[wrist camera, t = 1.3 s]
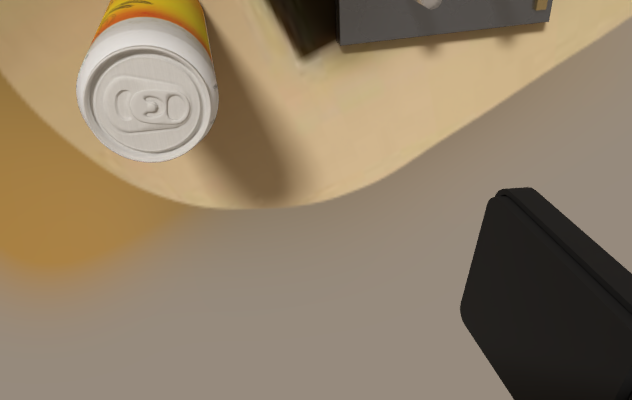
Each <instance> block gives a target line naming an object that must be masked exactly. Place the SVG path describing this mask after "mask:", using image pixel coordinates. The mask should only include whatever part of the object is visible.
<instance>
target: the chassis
mask: <svg viewBox="0 0 632 400" xmlns="http://www.w3.org/2000/svg"><path fill="white" fill-rule="evenodd" d="M552 1H553V0H335V13H336V41H337V42H338V43H339V44H340V46H341V45H349V44H358V43H367V42H375V41H384V40H393V39H401V38H410V37H419V36H428V35H436V34H445V33H454V32H462V31H471V30H480V29H488V28H497V27H506V26H514V25H523V24H532V23H540V22H549V17H550V12H551V6H552Z"/></svg>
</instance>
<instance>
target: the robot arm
mask: <svg viewBox="0 0 632 400" xmlns="http://www.w3.org/2000/svg"><path fill="white" fill-rule="evenodd" d="M460 312H461V317H462V320H463V322H464V324H465V326H466V327H467V329H468V330H469V332H470V333H471V335H472V336H473V338H474V339H475V341H476V342H477V344H478V345H479V347H480V348H481V350H482V352H483V353H484V355H485V356H486V358H487V359H488V360H489V362H490V364H491V365H492V367H493V368H494V370H495V371H496V373H497V374H498V376H499V377H500V379H501V380H502V382H503V383H504V385H505V386H506V388H507V389H508V391H509V393H510V394H511V396H512V397H513V399H514V400H632V274H631V273H630V272H629V271H628V270H627V269H626V268H624V267H623V266H622V265H621V264H620V263H619V262H617V261H616V260H615V259H614V258H613V257H612V256H610V255H609V254H608V253H607V252H606V251H605V250H603V248H601V247H600V246H599V245H598V244H597V243H595V242H594V241H593V240H592V239H591V238H590V237H589V236H588V235H586V234H585V233H584V232H583V231H581V229H580V228H578V227H577V226H576V225H575V224H574V223H573V222H571V221H570V220H569V219H568V218H567V217H566V216H565V215H563V214H562V213H561V212H560V211H559V210H558V209H556V208H555V207H554V206H553V205H552V204H551V203H550V202H548V201H547V200H546V199H545V198H544V197H543V196H542V195H540V194H539V193H538V192H537V191H536V190H534V189H533V188H528V187H526V188H511V189H502V190H500V191H498V193H497V194H496V195H495V197H493V198H491V199H490V200H489V201H488V204H487V207H486V211H485V215H484V219H483V222H482V226H481V230H480V233H479V237H478V241H477V245H476V249H475V252H474V256H473V260H472V263H471V267H470V271H469V275H468V278H467V282H466V286H465V290H464V294H463V297H462V301H461V306H460Z"/></svg>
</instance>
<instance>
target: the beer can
mask: <svg viewBox="0 0 632 400" xmlns="http://www.w3.org/2000/svg"><path fill="white" fill-rule="evenodd" d="M76 94H77V101H78V105H79V109H80V112H81V114H82V116H83V118H84V120H85V122H86V123H87V125H88V126H89V128H90V129H91V130H92V132H93V133H94V135H95V136H96V137H97V138H98V139H99V140H100V141H101V143H103V144H104V145H105V146H106V147H107V148H109V149H110V150H112V151H113V152H115V153H117V154H118V155H120V156H123V157H125V158H128V159H131V160H135V161H139V162H163V161H168V160H171V159H175V158H177V157H179V156H181V155H183V154H185V153H187V152H188V151H190V150H191V149H192V148H193V147H194V146H195V145H197V144H198V143H199V142H200V141H201V140H202V139H203V138H204V137H205V136H206V135H207V133H208V132H209V130H210V129H211V127H212V125H213V123H214V121H215V118H216V115H217V111H218V104H219V93H218V87H217V81H216V76H215V70H214V65H213V59H212V54H211V48H210V43H209V38H208V32H207V27H206V21H205V16H204V12H203V10H202V7H201V5H200V3H199V1H198V0H111V1H110V3H109V6H108V8H107V10H106V12H105V14H104V17H103V19H102V21H101V23H100V26H99V28H98V30H97V32H96V34H95V37H94V39H93V41H92V43H91V46H90V48H89V50H88V52H87V54H86V57H85V59H84V61H83V63H82V66H81V68H80V71H79V74H78V78H77V85H76Z"/></svg>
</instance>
